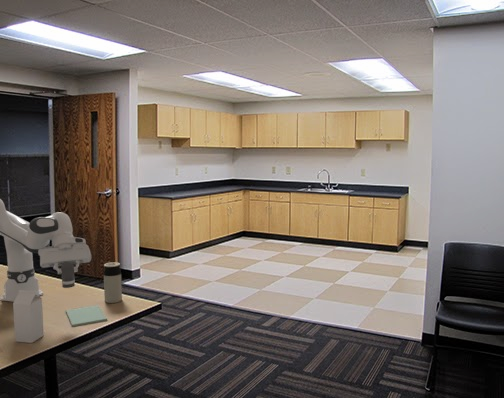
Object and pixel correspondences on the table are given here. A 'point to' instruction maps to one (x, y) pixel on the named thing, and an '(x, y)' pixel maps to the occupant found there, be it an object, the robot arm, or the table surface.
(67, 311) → the sage green mat
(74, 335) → the table surface
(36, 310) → the milk carton
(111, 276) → the travel mug
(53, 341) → the table surface
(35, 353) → the table surface
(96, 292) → the table surface
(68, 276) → the cylinder
